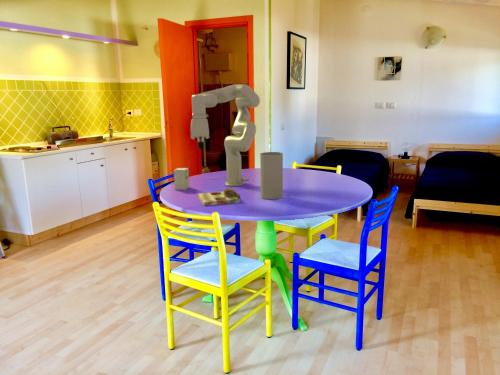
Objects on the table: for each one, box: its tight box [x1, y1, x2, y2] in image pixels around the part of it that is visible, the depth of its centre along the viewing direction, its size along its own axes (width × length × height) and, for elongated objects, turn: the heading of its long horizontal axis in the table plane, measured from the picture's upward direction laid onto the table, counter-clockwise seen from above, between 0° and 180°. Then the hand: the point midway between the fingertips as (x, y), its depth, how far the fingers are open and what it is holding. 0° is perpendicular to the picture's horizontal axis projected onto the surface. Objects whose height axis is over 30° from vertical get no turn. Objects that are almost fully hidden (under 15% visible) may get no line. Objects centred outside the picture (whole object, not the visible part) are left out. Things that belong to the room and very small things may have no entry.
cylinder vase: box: [259, 151, 284, 201], centre depth 233 cm, size 12×12×25 cm
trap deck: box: [197, 187, 241, 207], centre depth 232 cm, size 20×20×4 cm
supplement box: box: [173, 167, 190, 191], centre depth 259 cm, size 7×7×13 cm
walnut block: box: [223, 187, 233, 197], centre depth 232 cm, size 4×4×4 cm
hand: (200, 148), depth 240 cm, fingers closed
